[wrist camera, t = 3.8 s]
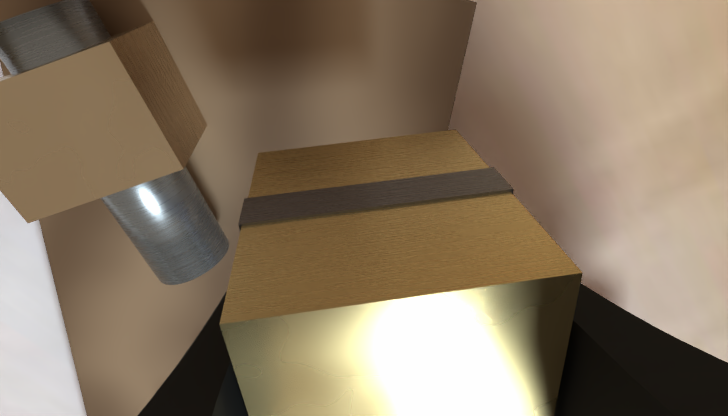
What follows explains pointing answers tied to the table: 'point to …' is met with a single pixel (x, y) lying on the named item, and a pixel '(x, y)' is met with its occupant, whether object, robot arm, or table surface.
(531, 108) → the table surface
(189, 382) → the robot arm
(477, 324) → the tan wooden block
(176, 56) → the board
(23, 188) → the shaft
